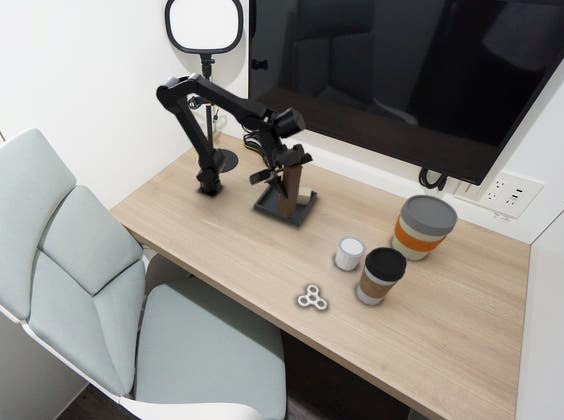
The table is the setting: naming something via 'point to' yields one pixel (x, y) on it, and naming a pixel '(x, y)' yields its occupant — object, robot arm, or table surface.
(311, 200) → the tray
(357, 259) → the white short cylinder
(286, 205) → the brown square post
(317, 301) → the fidget spinner
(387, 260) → the coffee cup
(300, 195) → the cream block
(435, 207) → the reusable coffee cup
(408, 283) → the table surface
